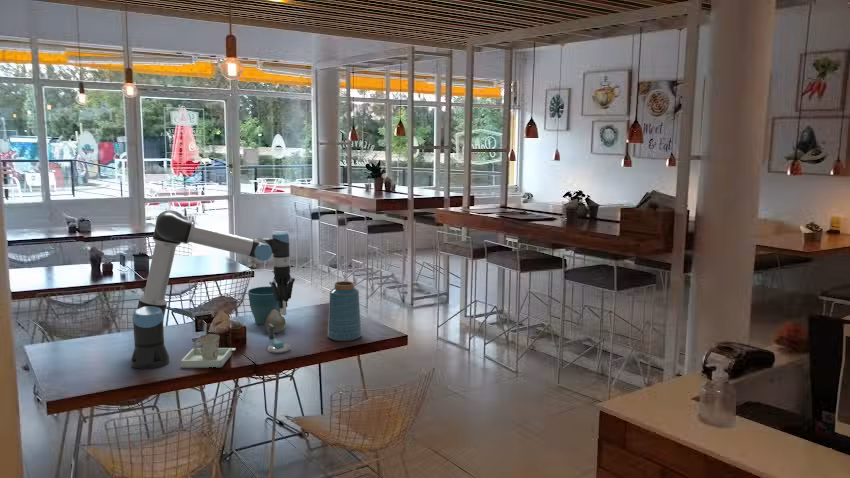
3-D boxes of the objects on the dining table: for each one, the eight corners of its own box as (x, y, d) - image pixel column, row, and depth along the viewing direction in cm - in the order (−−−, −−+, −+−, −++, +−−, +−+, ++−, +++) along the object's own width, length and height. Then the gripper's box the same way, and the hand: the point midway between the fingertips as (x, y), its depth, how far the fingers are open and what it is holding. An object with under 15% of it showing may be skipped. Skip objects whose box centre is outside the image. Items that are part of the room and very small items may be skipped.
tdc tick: (226, 350, 300) (226, 349, 300) (228, 349, 302) (228, 348, 302) (234, 350, 300) (234, 349, 300) (235, 349, 302) (235, 348, 302)
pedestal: (265, 353, 297) (265, 350, 296) (270, 346, 306) (270, 343, 306) (288, 353, 297) (288, 350, 297) (291, 346, 307) (291, 343, 307)
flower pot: (265, 328, 334) (265, 296, 332) (241, 323, 344) (240, 291, 341) (291, 320, 349) (290, 289, 347) (267, 315, 359) (266, 284, 356)
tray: (180, 367, 277) (180, 360, 277) (193, 354, 294) (193, 348, 294) (221, 367, 278) (221, 360, 278) (231, 354, 295) (231, 348, 294)
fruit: (284, 328, 335) (284, 305, 333) (286, 333, 326) (286, 310, 325) (263, 330, 332) (263, 306, 330) (265, 335, 323) (265, 311, 321)
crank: (285, 347, 301) (284, 331, 300) (275, 348, 298) (275, 332, 297) (274, 338, 313) (274, 323, 312) (265, 340, 311) (264, 324, 310)
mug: (212, 363, 281) (211, 340, 280) (187, 360, 285) (186, 337, 283) (224, 357, 289) (223, 335, 288) (199, 354, 293) (198, 332, 291)
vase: (367, 338, 320) (367, 284, 316) (337, 344, 311) (336, 288, 307) (351, 330, 334) (351, 278, 329) (322, 335, 324) (321, 282, 320)
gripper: (274, 268, 302) (276, 318, 306) (298, 264, 311) (299, 313, 315) (265, 266, 307) (267, 315, 311) (288, 262, 316) (290, 310, 320)
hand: (283, 314), depth 313 cm, fingers closed
